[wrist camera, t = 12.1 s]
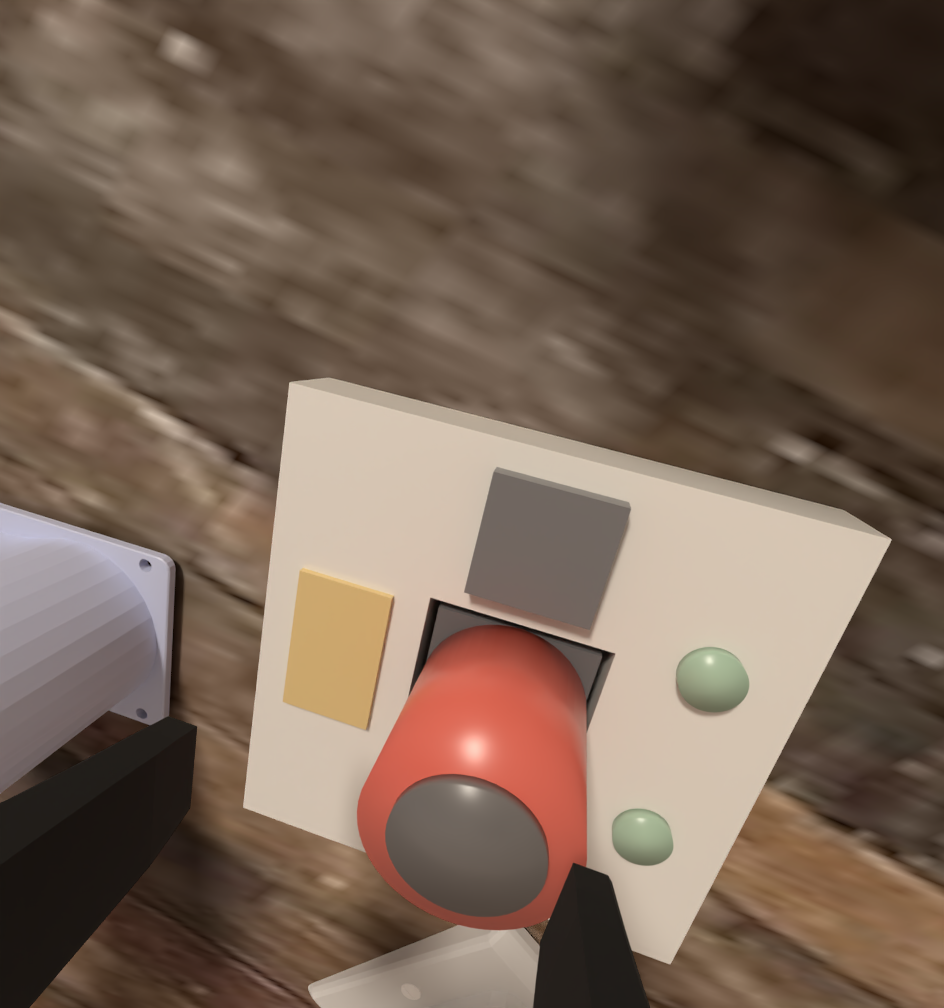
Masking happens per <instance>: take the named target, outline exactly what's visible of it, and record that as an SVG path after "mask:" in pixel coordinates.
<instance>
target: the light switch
mask: <svg viewBox="0 0 944 1008" xmlns="http://www.w3.org/2000/svg"><path fill="white" fill-rule="evenodd" d="M539 949H540V946H539V944H538V943H537V942H536V941H535V940H534V939H533V938H532V936H531V935H530V934H529V933H528V932H527V931H526V929H525V928H519V929H513V930H483V929H476V928H470V927H466V926H461V925H457V926H455V927H452V928H450V929H447V930H445V931H442V932H440V933H437V934H435V935H432V936H430V937H427V938H425V939H422V940H420V941H417V942H415V943H412V944H410V945H407V946H405V947H402V948H400V949H397V950H395V951H392V952H390V953H387V954H385V955H382V956H380V957H377V958H375V959H372V960H370V961H367V962H365V963H362V964H360V965H357V966H355V967H352V968H350V969H347V970H345V971H342V972H340V973H337V974H335V975H332V976H330V977H327V978H325V979H322V980H320V981H317V982H315V983H312V984H310V985H309V986H308V990H309V993H310V995H311V996H312V998H313V999H314V1001H315V1002H316V1003H317V1004H318V1005H319V1006H320V1007H321V1008H533V1002H534V993H535V983H536V975H537V966H538V958H539Z"/></svg>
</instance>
